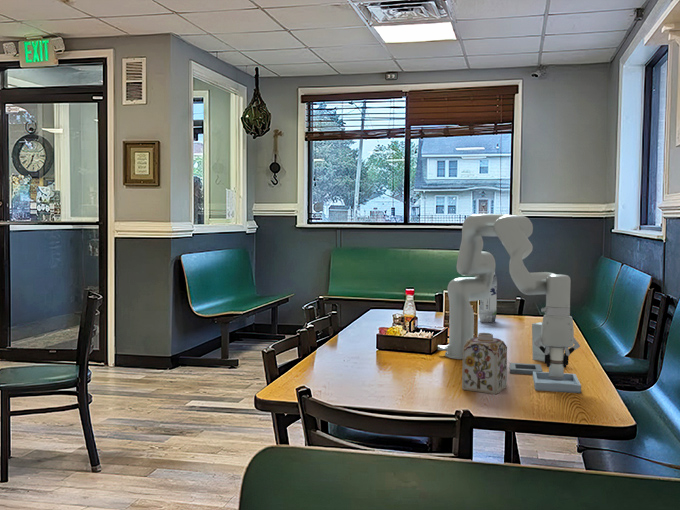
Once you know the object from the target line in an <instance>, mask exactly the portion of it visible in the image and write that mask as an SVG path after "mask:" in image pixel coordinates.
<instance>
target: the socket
mask: <svg viewBox="0 0 680 510" xmlns="http://www.w3.org/2000/svg"><path fill="white" fill-rule="evenodd" d="M533 371H534V372H544V371H543V368H542V364H539V363H538V364H537V363H521V362H509V374H515V375H516V374H517V375H529V376H531V375H532V376H533Z"/></svg>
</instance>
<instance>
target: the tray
mask: <svg viewBox="0 0 680 510" xmlns="http://www.w3.org/2000/svg"><path fill="white" fill-rule="evenodd" d="M563 376H564V380H562V381H555V380H550V379H548V377H549V371H543V372H534V371H533V375H532V381H533V387H534V390H535V391H540V392H541V391H544V392H557V393H573V394H581V393H582V384H581V383H580V380H579V379H578V376H577V374H576V373H567V372H564V373H563Z"/></svg>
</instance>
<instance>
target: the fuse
mask: <svg viewBox="0 0 680 510" xmlns="http://www.w3.org/2000/svg"><path fill="white" fill-rule="evenodd" d="M564 353H565V350H564V347H550V350H549V355H550V366H549V367H548V372H549V377H548V379H550V380H555V381H562V380H564V376H563V373H565V372H564V370H565V368H564Z"/></svg>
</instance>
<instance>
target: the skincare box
mask: <svg viewBox="0 0 680 510" xmlns="http://www.w3.org/2000/svg"><path fill="white" fill-rule="evenodd" d="M542 322H543V321H539V322H535V323H534V322H533V323H532V324H531V331H532V332H531V333H532V334H531V336H532V339H531V340H532V346H531V347H532V348H531V349H532V350H531V351H532V360H533V361H539V362H544V363H545V354H544V353H543V352H542V351H541V350H540V349H539V348H538V347H537V346H535V344H534V342H535V341H536V340H537V339H538V338H539V337H540V335H541V329H542ZM540 344H541V345H542V346H543V347H544V348H545V346H544V345H543V344H542V343H541V342H540ZM549 350H550V349H549Z"/></svg>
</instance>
